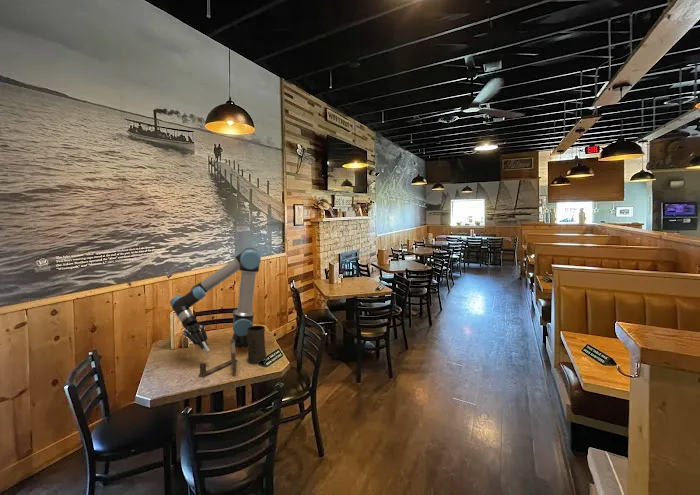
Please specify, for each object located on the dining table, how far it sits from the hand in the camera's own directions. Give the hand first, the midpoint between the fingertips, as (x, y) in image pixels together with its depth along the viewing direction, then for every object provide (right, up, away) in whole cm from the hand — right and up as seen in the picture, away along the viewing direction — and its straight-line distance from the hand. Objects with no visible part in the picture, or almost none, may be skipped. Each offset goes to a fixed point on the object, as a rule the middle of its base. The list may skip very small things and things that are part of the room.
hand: (207, 352), depth 191 cm
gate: (+16, -7, -3) cm, 18 cm away
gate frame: (+7, -8, -2) cm, 11 cm away
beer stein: (+25, -7, +11) cm, 28 cm away
